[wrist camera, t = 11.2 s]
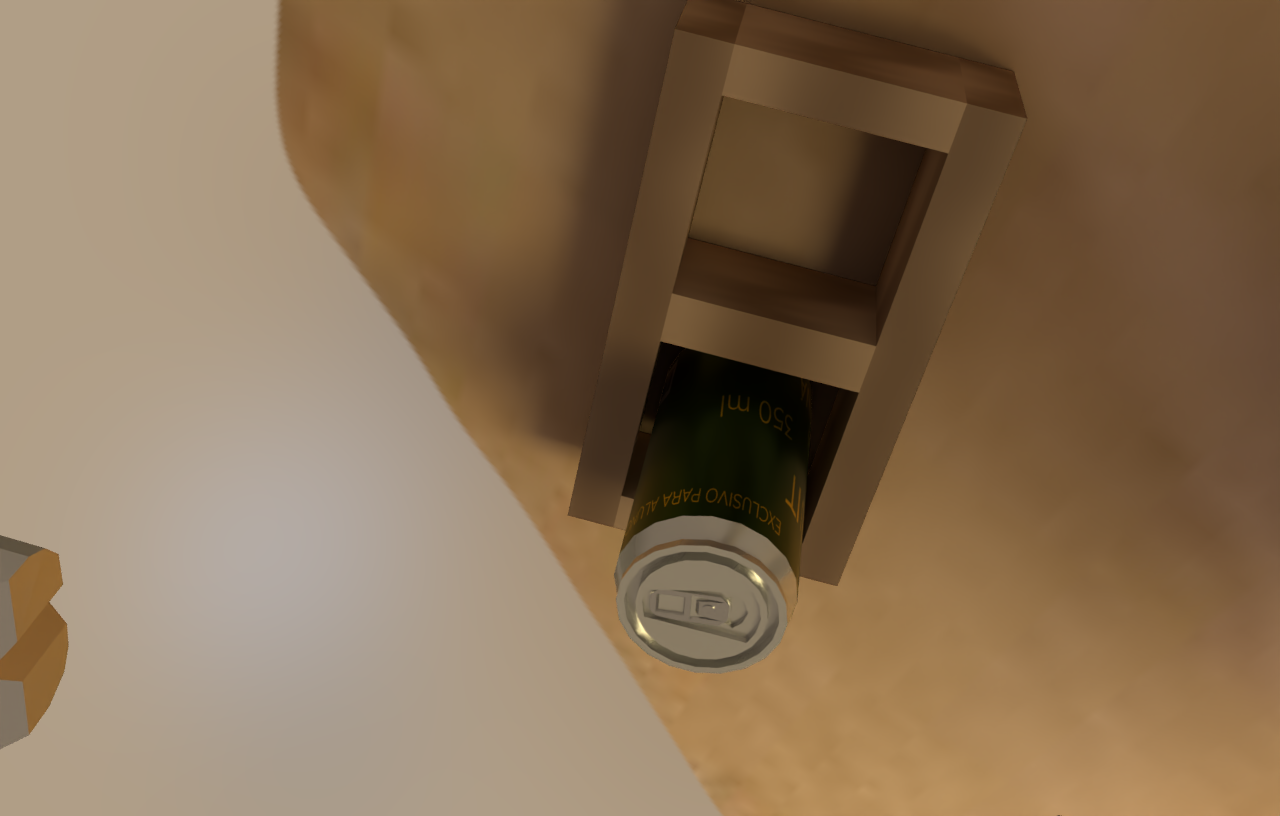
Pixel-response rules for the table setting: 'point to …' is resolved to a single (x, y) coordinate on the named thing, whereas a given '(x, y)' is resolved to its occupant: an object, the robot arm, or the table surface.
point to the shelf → (787, 294)
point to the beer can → (717, 516)
